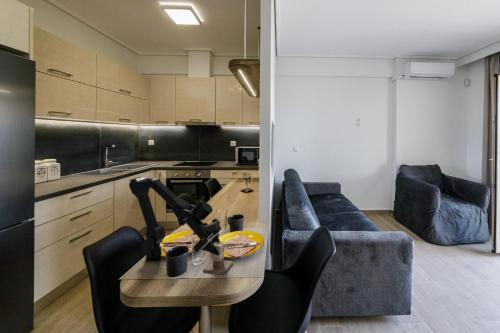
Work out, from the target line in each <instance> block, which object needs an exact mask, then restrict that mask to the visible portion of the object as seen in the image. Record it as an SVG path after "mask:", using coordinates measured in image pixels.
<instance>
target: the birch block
mask: <svg viewBox="0 0 500 333" xmlns="http://www.w3.org/2000/svg"><path fill="white" fill-rule="evenodd" d="M213 245H214V246H215V248H216V249H217V250H218V252H219V253H220V255H218V256H217V255H215V254H213V253H211V260H213V261H220V262H221V261H222V259H223V260H224V258H225V243H224V242H222V241H220V242H215V243H214V244H213Z"/></svg>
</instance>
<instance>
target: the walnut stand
mask: <svg viewBox="0 0 500 333" xmlns="http://www.w3.org/2000/svg"><path fill="white" fill-rule="evenodd" d="M232 265H233V260H225V259H224V258H223V259H222V261H221V262H220V261H213V260H212V259H211V260H210V261H209V262H208V263H207V264H206V266H204V268H203V269H202V272H205V273H212V274H216V275H223V276H225V275H226V274H227V272H228V271H229V269H230V268H231V266H232Z"/></svg>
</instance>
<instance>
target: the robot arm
mask: <svg viewBox="0 0 500 333" xmlns="http://www.w3.org/2000/svg"><path fill="white" fill-rule="evenodd" d="M128 187H129V189H130V192H131V193H132V195H133V196H134V197H136V198H137V201H138V205H139V208H140V211H141V214H142V216H143V219H144V222H145V225H146V228H145V229H146V231H145V240H144V241H143V242H142V243H141V248H142V250H145V262H152V261H159V260H161V257H162V254H163V253H162V252H163V250H162V246H161V244H162V243H163V241H164V239H165V237H166V231H165V228H164V225H160V224H159V223H158V221H157V218H156V217H157V216H156V215H155V211H154V208H153V206H152V202H151V199H150V195H149V192H150V189H152V190H153V191H154V192H155V193H156V194H157V195H158V196H159V197H160V198H162V199H163V200H164V201H165V202H166V203H167V205H169V206H170V208H171V211H172V213H173V214H174V216H175V217H177V219H181V221H182V222H181V226H182V227H184V226H185V225H187V226H188V227H189V229H191V231H192V232H193V233H192V235H193V236H195V235H196V236H197V238H199V240H198V241H197V243H195V245H193V246H192V247H193V248H192V249H193V251H194V252H195V253H196V254H197V253H198V252H199V251H200V250H201V251H204V252H208V253H210V254H212V253H213V254H215V255H217V256H218V255H220V253H219V252H218V250H217V249H216V248H215V246H214V245H213V244H214V243H215V242H221V241H220V231H221V230H222V227H221V225H220V224H221V221H220V220H219V219H217V218H213V219H212V220H211V222H210V223H207V222H206V221H205V222H203V221H204V220H206V218H207V217H208V216H210V215H211V214H212V213H213V211H214V209H213V207H212V206H211V204H209V203H208V202H205V201H203V200H201V201H199V202H198V203H197V205H193V204H190V203H189V202H188V201H187V200H185V199H183V198H180V197H178V196H177V195H176V194H175V193H174V192H173V191H171V190H170V189H169V188H168V187H167V186H166V185H165V184H164V183H163V182H162V181H161V179H160V178H158V177H156V178H146V177H144V176H141V177H137V178H133V179H131V180H130V181H129V183H128Z"/></svg>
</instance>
